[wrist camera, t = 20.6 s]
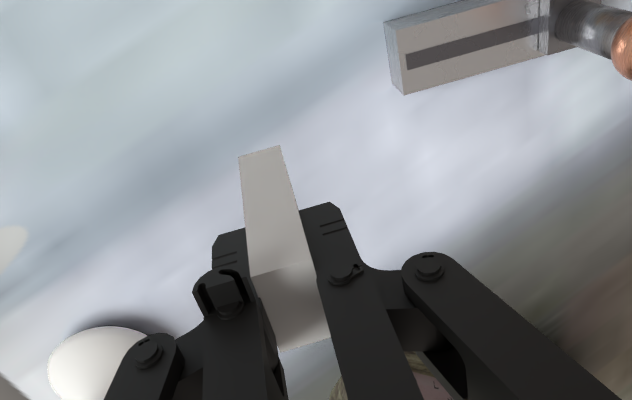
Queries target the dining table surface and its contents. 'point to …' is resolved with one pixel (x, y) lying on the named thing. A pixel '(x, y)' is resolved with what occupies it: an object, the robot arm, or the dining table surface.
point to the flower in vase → (89, 361)
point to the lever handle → (587, 30)
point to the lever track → (460, 41)
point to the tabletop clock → (428, 384)
